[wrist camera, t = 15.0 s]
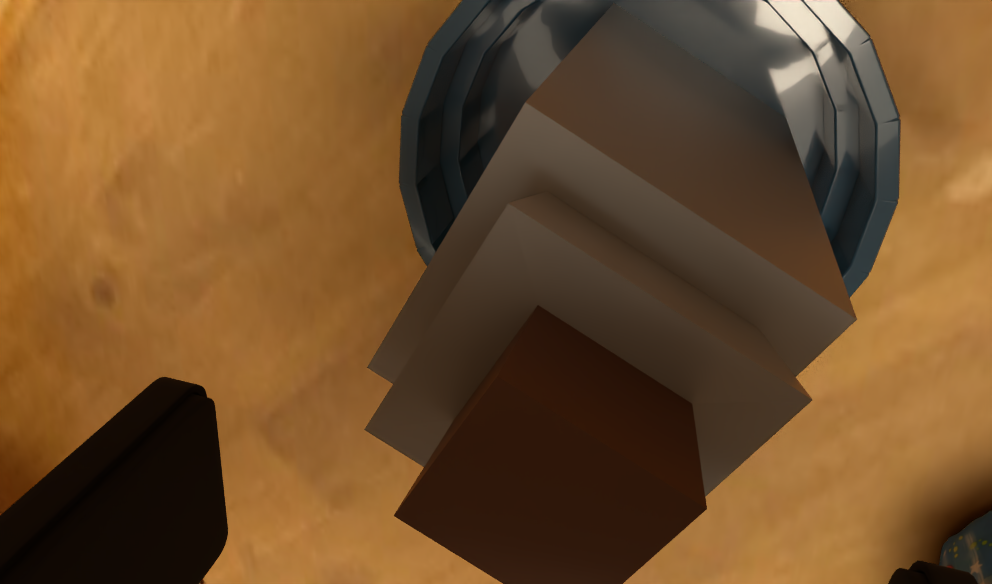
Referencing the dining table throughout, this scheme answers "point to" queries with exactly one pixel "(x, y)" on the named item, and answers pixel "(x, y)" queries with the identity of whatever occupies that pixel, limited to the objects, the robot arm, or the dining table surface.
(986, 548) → the snack cup
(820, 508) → the dining table surface
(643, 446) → the perfume bottle
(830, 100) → the bowl
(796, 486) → the dining table surface
